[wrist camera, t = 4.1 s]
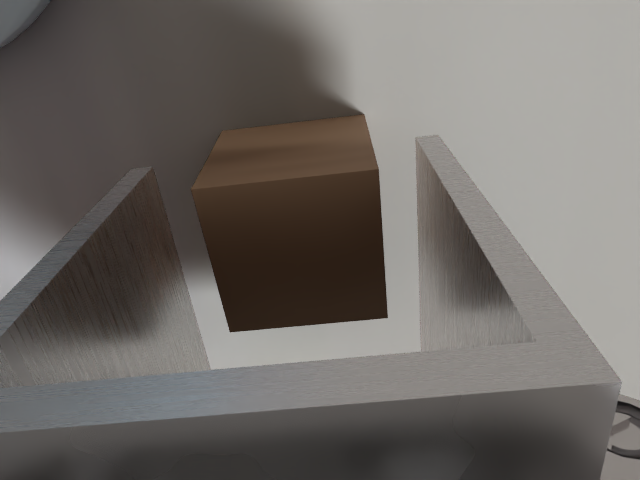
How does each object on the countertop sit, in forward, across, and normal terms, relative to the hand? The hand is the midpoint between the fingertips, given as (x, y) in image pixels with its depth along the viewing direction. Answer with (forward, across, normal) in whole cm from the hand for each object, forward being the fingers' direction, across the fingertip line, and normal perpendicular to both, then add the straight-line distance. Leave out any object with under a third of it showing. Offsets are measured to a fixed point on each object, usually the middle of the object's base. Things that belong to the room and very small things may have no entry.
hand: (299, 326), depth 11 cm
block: (+5, 0, -1) cm, 5 cm away
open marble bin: (+2, 0, 0) cm, 2 cm away
